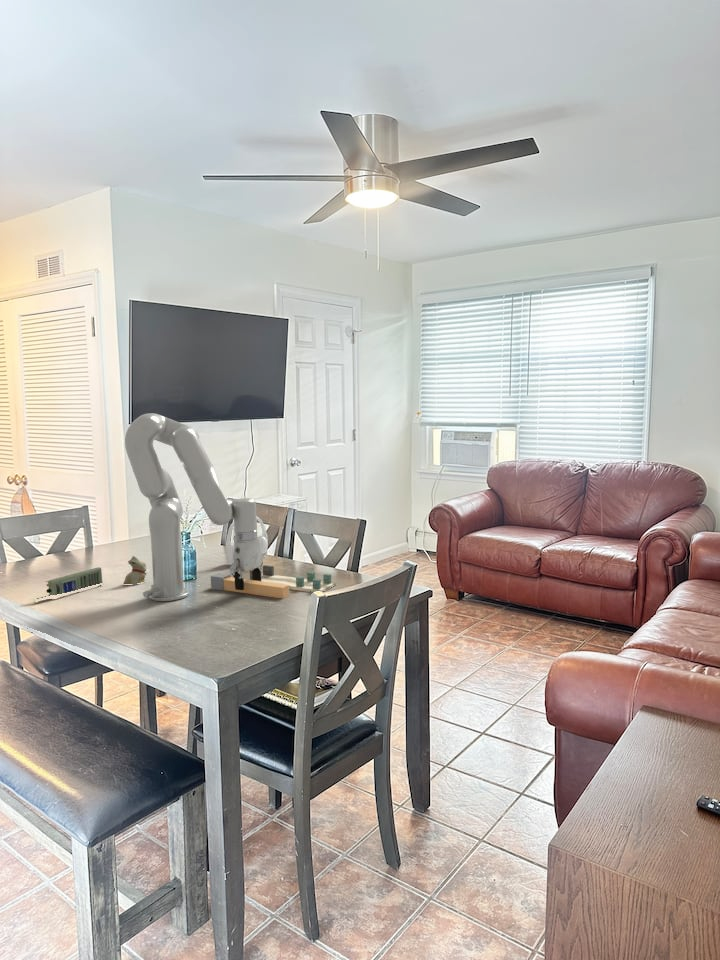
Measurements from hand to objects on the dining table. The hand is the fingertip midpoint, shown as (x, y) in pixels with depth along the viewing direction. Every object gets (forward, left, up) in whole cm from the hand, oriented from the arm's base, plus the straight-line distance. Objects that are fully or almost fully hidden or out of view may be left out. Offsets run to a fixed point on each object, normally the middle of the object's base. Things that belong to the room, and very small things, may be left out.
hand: (248, 585), depth 221 cm
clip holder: (+13, -9, -2) cm, 16 cm away
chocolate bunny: (-8, +43, -2) cm, 44 cm away
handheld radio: (-27, +53, -2) cm, 60 cm away
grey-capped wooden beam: (0, -1, -2) cm, 2 cm away
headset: (+35, +26, -2) cm, 43 cm away
